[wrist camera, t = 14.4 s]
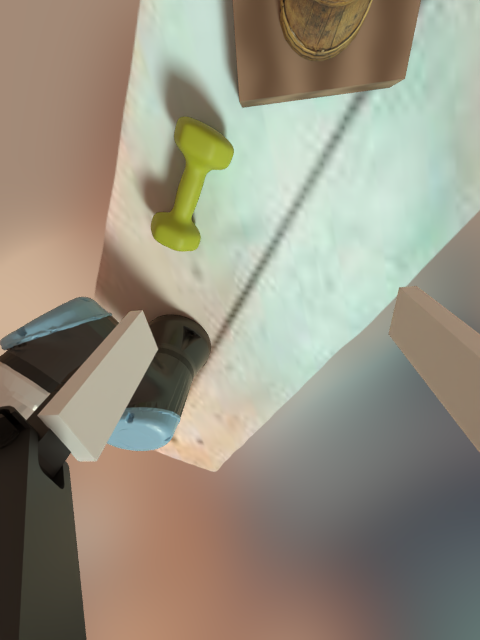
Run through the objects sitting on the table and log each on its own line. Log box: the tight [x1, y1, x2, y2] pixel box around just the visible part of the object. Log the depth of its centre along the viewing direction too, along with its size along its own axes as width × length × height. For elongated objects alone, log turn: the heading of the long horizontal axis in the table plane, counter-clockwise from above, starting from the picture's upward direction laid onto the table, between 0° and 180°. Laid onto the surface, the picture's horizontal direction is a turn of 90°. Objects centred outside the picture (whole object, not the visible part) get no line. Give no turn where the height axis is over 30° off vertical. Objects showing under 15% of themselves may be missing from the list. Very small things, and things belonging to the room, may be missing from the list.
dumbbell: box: [151, 117, 234, 251], centre depth 35 cm, size 16×8×7 cm, turn 154°
